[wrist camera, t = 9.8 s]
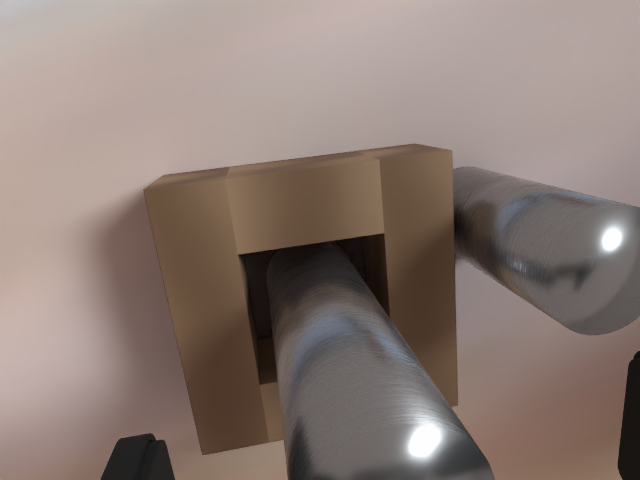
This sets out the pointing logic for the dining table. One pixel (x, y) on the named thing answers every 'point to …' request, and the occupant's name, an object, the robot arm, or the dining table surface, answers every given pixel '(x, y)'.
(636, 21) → the dining table surface
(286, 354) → the long pin
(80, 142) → the dining table surface
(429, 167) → the socket block
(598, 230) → the medium pin
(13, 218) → the dining table surface
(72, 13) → the dining table surface
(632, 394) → the robot arm
